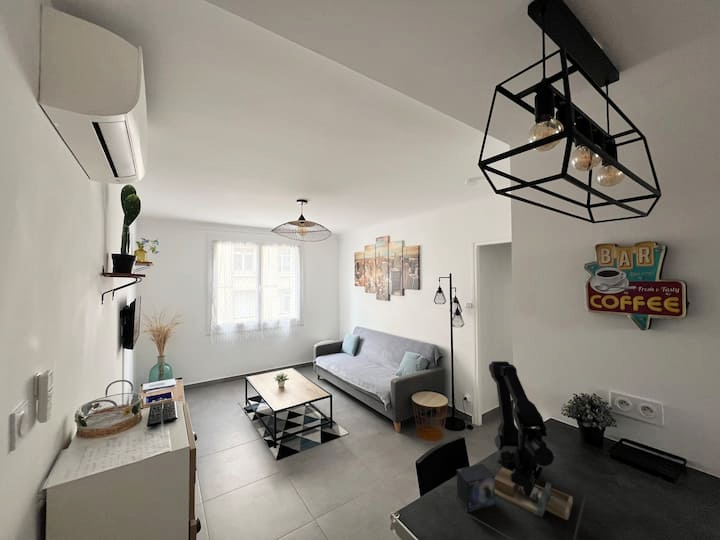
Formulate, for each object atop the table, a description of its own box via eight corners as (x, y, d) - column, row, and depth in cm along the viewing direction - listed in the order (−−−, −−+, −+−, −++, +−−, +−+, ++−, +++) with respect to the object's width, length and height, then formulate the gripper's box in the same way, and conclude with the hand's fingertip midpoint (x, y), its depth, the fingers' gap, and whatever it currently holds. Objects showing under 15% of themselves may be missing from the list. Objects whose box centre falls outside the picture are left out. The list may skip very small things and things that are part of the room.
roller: (522, 490, 101) (522, 479, 101) (539, 497, 98) (539, 486, 98) (519, 495, 99) (519, 485, 99) (536, 503, 95) (536, 492, 95)
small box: (468, 515, 92) (467, 482, 92) (456, 499, 99) (455, 468, 99) (496, 507, 95) (495, 475, 95) (482, 492, 101) (482, 462, 101)
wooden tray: (501, 473, 111) (501, 462, 111) (572, 504, 95) (572, 492, 95) (488, 492, 101) (488, 480, 101) (565, 530, 86) (565, 516, 86)
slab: (502, 476, 108) (502, 467, 108) (520, 484, 104) (520, 474, 104) (494, 488, 102) (494, 478, 102) (513, 497, 98) (512, 487, 98)
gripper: (511, 426, 111) (512, 467, 111) (493, 449, 97) (494, 496, 97) (545, 437, 103) (546, 482, 103) (531, 463, 89) (532, 514, 89)
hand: (529, 492), depth 98 cm, fingers closed on roller, 4 cm apart
